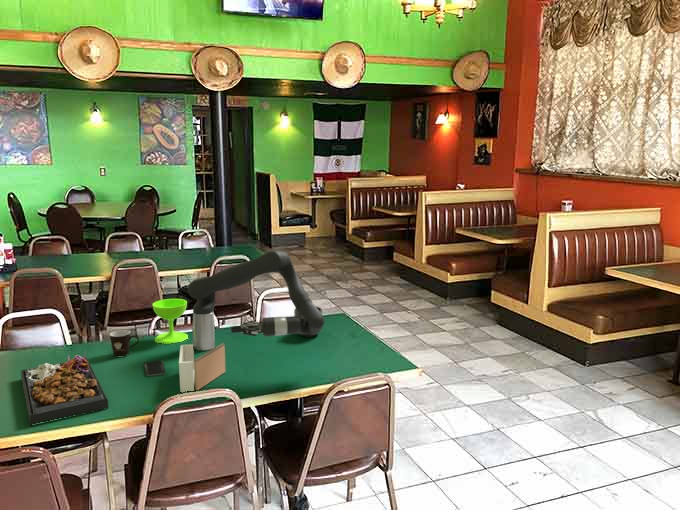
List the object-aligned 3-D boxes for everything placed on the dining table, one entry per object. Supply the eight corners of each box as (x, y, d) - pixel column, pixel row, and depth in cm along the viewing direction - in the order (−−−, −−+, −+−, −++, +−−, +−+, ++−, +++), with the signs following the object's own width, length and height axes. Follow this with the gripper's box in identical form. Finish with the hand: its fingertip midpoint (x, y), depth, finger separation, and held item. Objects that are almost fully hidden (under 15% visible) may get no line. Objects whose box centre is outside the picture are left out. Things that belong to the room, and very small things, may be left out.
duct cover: (195, 389, 214) (194, 359, 212) (223, 371, 232) (222, 343, 230) (197, 390, 214) (196, 360, 212) (225, 371, 232) (224, 343, 229)
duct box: (180, 392, 212) (178, 363, 210) (182, 372, 232) (180, 345, 229) (194, 391, 214) (192, 362, 211) (194, 371, 233) (193, 344, 230)
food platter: (21, 380, 224) (19, 356, 222) (87, 368, 237) (86, 345, 235) (30, 428, 187) (27, 399, 185) (108, 410, 200) (106, 383, 198)
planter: (294, 330, 285) (293, 305, 283) (321, 329, 287) (321, 305, 284) (294, 339, 272) (294, 314, 269) (323, 338, 273) (323, 313, 271)
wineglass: (163, 332, 281) (161, 298, 277) (193, 334, 278) (192, 299, 275) (148, 343, 265) (146, 307, 262) (180, 345, 263) (178, 308, 259)
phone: (145, 375, 226) (143, 362, 240) (145, 378, 227) (143, 364, 240) (165, 372, 229) (162, 359, 243) (166, 375, 230) (162, 362, 243)
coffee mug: (106, 356, 249) (105, 334, 247) (121, 349, 257) (119, 329, 255) (127, 360, 244) (125, 338, 243) (141, 353, 252) (139, 332, 250)
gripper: (272, 312, 230) (229, 315, 226) (276, 322, 217) (231, 325, 213) (273, 330, 231) (230, 333, 227) (277, 340, 219) (232, 344, 215)
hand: (231, 329), depth 220 cm, fingers closed
